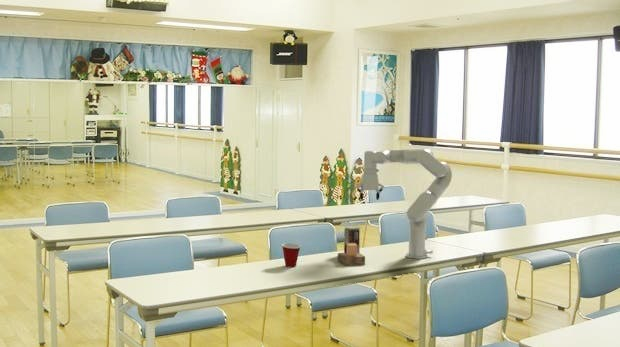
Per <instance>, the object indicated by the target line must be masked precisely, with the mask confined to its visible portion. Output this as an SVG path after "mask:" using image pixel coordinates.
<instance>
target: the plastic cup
mask: <svg viewBox="0 0 620 347" xmlns="http://www.w3.org/2000/svg"><path fill="white" fill-rule="evenodd" d="M281 247H282V252H283V259H284V265H285V268H296V267H297V263H298V259H299V258H298V257H299V253H300V251H301V250H300V249H301V248H302V245H301V244H298V243H292V242H291V243H289V242H287V243H282V244H281Z"/></svg>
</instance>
